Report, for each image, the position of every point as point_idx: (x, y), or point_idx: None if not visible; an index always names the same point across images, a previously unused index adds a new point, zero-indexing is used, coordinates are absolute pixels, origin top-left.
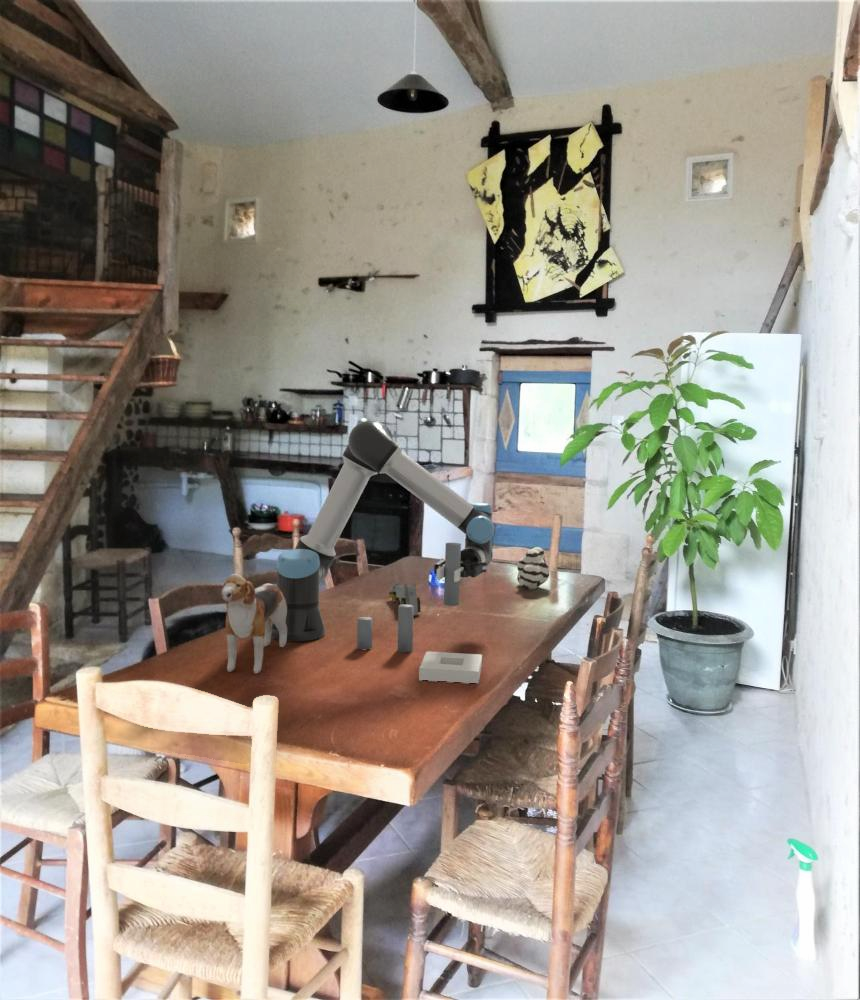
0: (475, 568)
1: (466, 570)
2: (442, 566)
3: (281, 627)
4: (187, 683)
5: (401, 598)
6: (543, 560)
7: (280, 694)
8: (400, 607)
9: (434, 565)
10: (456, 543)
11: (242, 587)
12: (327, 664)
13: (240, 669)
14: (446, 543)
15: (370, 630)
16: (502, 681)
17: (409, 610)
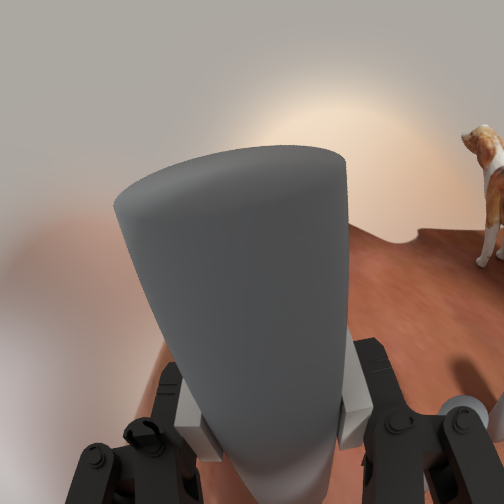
0: (84, 454)
1: (155, 418)
2: (358, 367)
3: None
4: (484, 230)
5: None
6: None
7: (403, 245)
8: (465, 396)
9: (469, 413)
10: (182, 194)
11: (472, 138)
12: (461, 325)
13: (501, 265)
14: (326, 154)
15: (501, 403)
16: (146, 386)
17: (437, 414)
